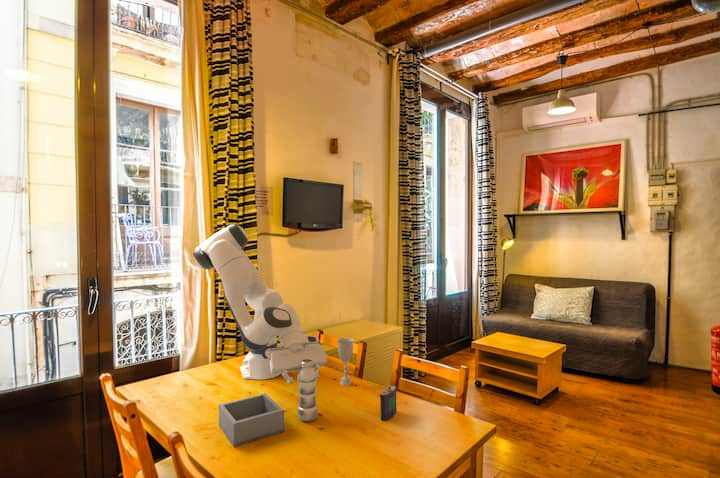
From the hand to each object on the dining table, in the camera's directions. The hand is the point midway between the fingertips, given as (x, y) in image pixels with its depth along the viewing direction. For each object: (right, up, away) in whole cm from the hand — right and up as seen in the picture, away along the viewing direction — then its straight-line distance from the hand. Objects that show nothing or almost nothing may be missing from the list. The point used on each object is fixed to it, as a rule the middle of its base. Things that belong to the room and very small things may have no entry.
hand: (304, 380), depth 137 cm
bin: (-16, -13, -7) cm, 22 cm away
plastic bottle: (+1, -13, 0) cm, 13 cm away
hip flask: (+29, -13, +2) cm, 32 cm away
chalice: (+13, -12, +32) cm, 37 cm away
